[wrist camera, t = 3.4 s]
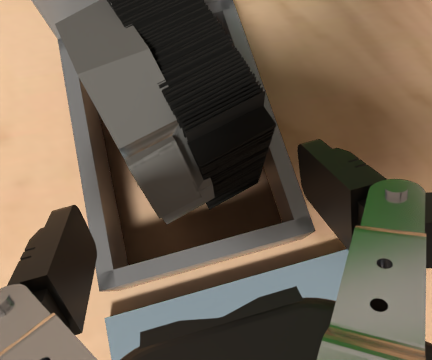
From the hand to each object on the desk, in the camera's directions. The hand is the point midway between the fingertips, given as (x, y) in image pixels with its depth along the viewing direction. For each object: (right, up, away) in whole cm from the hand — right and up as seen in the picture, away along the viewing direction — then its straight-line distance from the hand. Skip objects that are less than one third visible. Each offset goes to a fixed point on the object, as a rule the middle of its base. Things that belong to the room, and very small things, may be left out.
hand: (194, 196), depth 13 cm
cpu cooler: (-1, +3, +9) cm, 10 cm away
